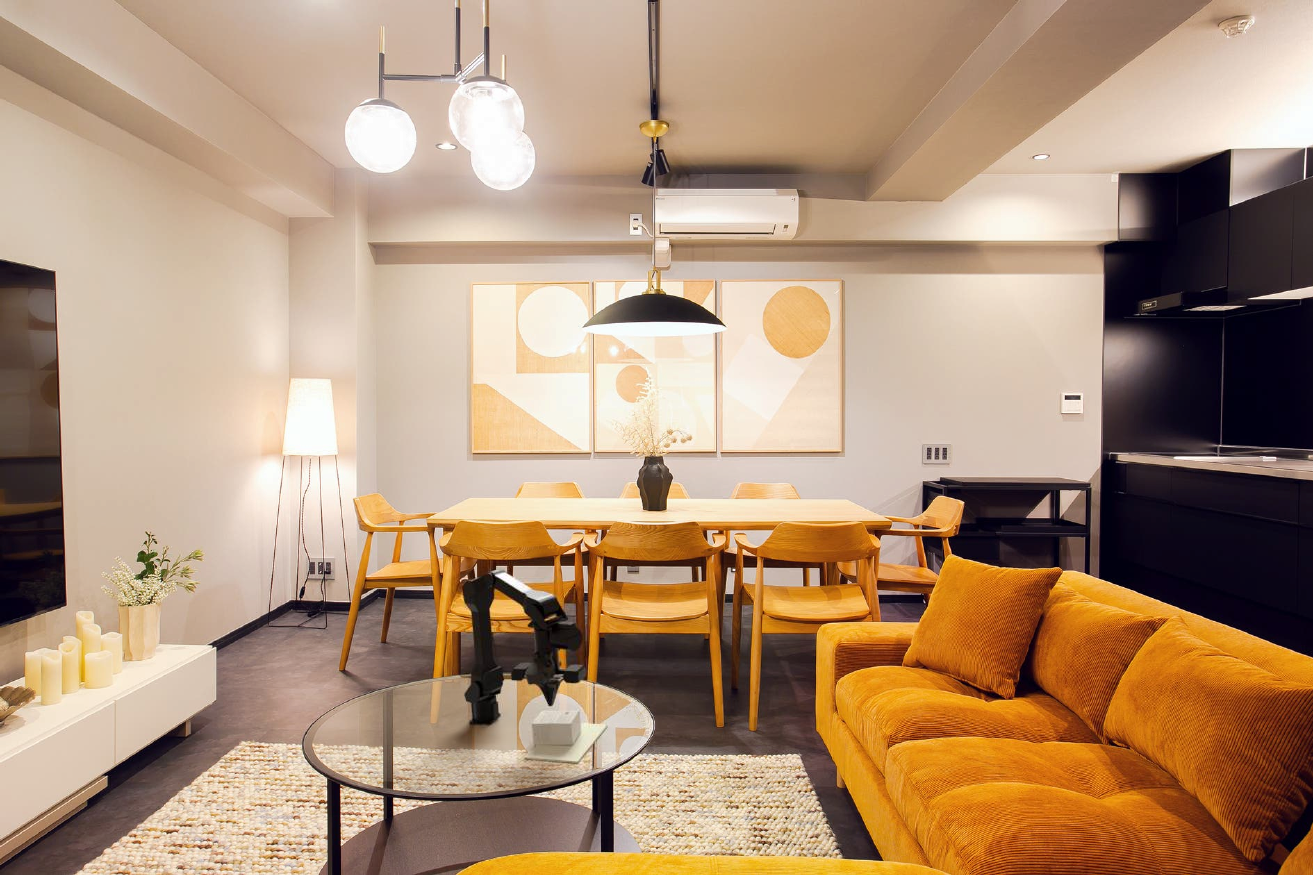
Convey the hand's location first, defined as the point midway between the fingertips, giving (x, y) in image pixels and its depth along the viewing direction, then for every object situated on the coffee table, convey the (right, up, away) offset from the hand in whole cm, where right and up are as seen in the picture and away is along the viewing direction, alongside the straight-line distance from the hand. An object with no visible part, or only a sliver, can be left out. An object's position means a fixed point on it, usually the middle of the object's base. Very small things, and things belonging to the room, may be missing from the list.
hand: (551, 705), depth 182 cm
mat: (+4, -9, -1) cm, 10 cm away
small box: (-4, -6, +2) cm, 7 cm away
